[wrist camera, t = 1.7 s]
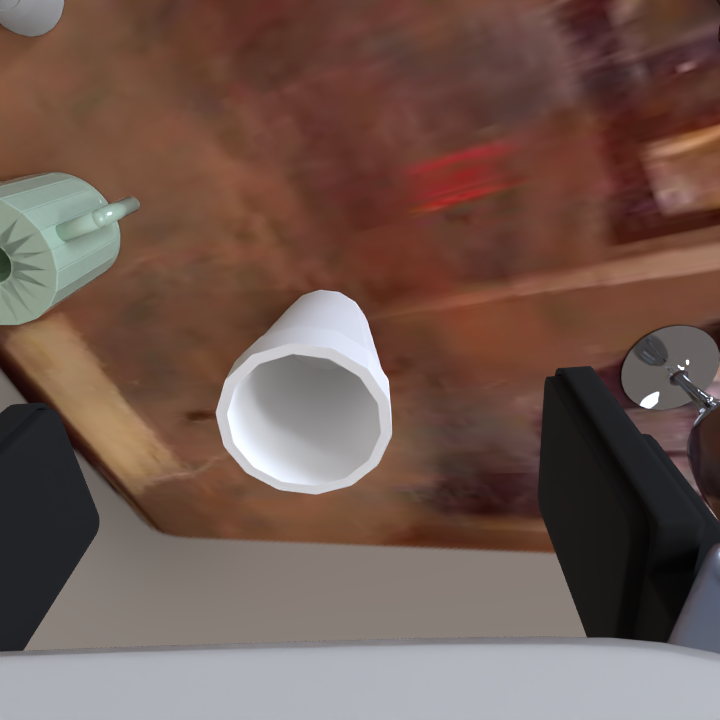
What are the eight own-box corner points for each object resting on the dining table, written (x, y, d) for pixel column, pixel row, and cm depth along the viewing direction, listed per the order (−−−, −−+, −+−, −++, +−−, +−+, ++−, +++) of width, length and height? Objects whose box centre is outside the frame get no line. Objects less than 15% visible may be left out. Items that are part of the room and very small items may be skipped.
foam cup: (240, 344, 42) (187, 442, 30) (302, 244, 39) (268, 310, 27) (346, 405, 44) (334, 518, 32) (413, 314, 41) (427, 404, 29)
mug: (50, 294, 41) (-26, 341, 33) (-12, 193, 38) (-111, 219, 30) (176, 248, 39) (126, 286, 31) (122, 139, 36) (52, 151, 28)
